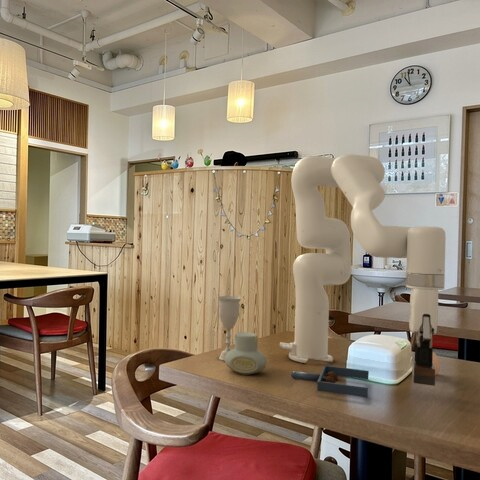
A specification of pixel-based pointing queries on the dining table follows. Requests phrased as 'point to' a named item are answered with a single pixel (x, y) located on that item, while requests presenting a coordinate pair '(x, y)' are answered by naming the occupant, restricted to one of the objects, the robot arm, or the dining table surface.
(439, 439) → the dining table surface
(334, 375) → the crumb
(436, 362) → the egg
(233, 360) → the air freshener
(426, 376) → the wooden stamp
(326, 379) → the crumb
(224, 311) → the chalice
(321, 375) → the dustpan
